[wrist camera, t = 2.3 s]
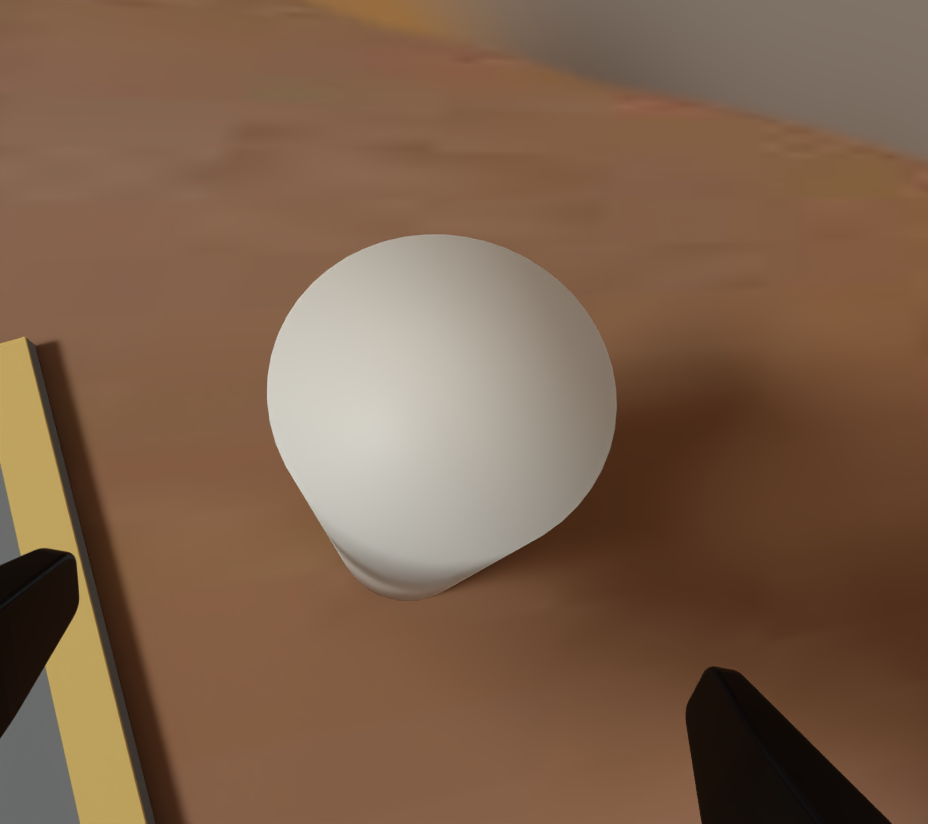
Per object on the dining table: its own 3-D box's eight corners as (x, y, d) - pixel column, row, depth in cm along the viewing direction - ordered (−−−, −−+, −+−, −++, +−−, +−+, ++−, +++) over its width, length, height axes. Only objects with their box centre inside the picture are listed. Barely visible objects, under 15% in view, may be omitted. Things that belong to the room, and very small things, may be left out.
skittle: (504, 564, 19) (677, 477, 8) (366, 626, 18) (341, 627, 7) (447, 435, 20) (527, 199, 9) (315, 485, 19) (220, 288, 8)
